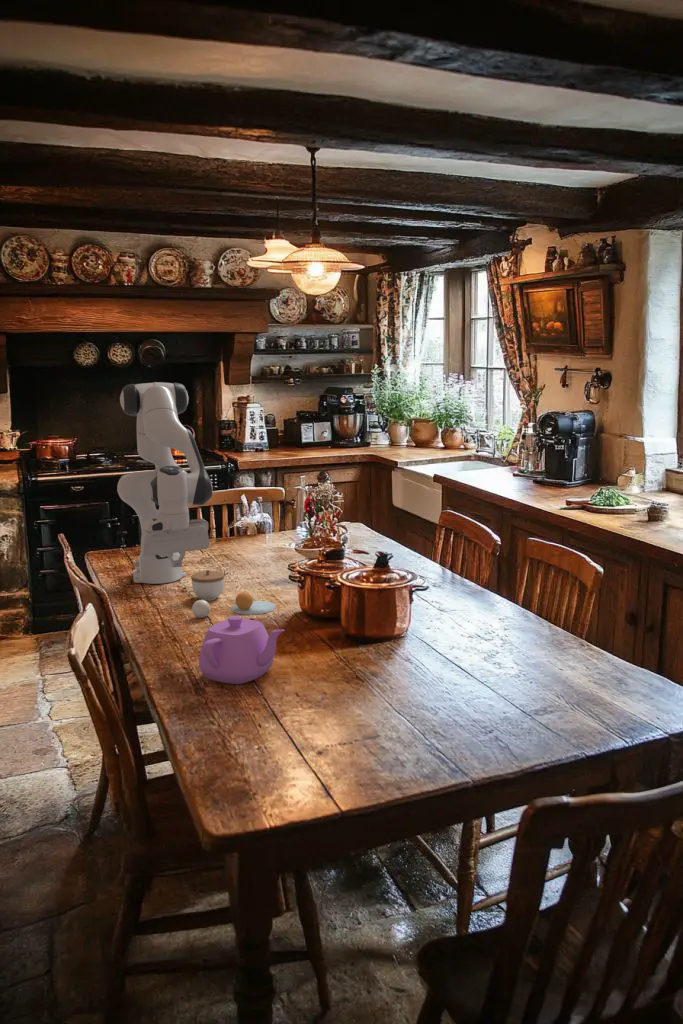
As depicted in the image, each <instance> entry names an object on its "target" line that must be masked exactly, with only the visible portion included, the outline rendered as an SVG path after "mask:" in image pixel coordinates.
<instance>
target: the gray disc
mask: <svg viewBox="0 0 683 1024" xmlns="http://www.w3.org/2000/svg"><path fill="white" fill-rule="evenodd" d="M275 608H276V609H277V605H276V603H273V602H270V601H265V600H253V604H252V606H251V607H250V608H248V609H246V610H242V609H240V608H238V607H237V605H236V604H234V605H233V606H232V607H231V611H232V612H233V613H235V614H239V615H246V616H254V615H255V616H259V615H264V613H265V614H268V612H269V613H271V612H273V611H275V610H276V609H275Z"/></svg>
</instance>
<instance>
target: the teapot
mask: <svg viewBox="0 0 683 1024" xmlns="http://www.w3.org/2000/svg"><path fill="white" fill-rule="evenodd" d="M285 631H286V630H285V629H281V628H280V629H274V630H272V631H271V632H270V633H269V634H268V632H267V629H266V627H265V625H264V623H262V621H257V620H252V619H248V618H243V616H240V615H232V616H229V617H227V619H225V620H222V621H220V622H217V623H215V624H213V625H212V626H210V627H209V628H208V629H207V630H206V633H205V636H204V639H203V642H202V645H201V647H200V651H199V661H198V667H199V671H200V672H201V674H202V675H203V676H204V678H206V679H209V680H211V681H215V682H220V683H223V684H224V683H225V684H230V685H243V684H246V683H249V682H252V681H254V680H256V679H258V678H259V679H260V677H262V676H264V675H265V674H266V673H267V672H268V671H269V670H270V668H271V667H272V665H273V662H274V658H275V656H276V651H277V639H278V637H279V635H280V634H281V633H283V632H285Z"/></svg>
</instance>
